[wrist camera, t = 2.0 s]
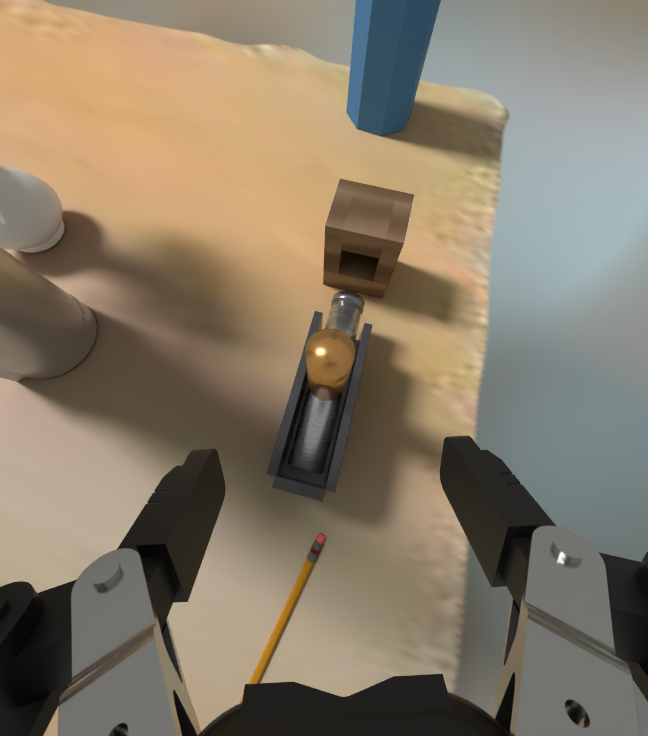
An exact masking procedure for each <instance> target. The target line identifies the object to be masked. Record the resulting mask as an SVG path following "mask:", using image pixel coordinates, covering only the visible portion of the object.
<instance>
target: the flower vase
mask: <svg viewBox="0 0 648 736" xmlns="http://www.w3.org/2000/svg"><path fill="white" fill-rule="evenodd" d="M62 217H63V210H62V204H61V200H60V198H59V197H58V195H57V194H56V192H55V191H54V189H53V188H52V187H50V186H49V185H48V184H47V183H45V182H44V181H43V180H41V179H40V178H39V177H37V176H35V175H33V174H31V173H28V172H26V171H23V170H21V169H18V168H14V167H8V166H4V165H0V247H1V248H2V249H8V250H19V251H21V252H27V253H37V252H41V251H45V250H47V249H49V248H51V247H52V246H54V245H55V244H57V243H58V241H59V240H60V239H61V238H62V236H63V234H64V230H65V226H64V222H63V220H62Z"/></svg>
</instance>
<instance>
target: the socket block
mask: <svg viewBox="0 0 648 736" xmlns="http://www.w3.org/2000/svg"><path fill="white" fill-rule="evenodd" d="M413 198H414V195H413V194H409V193H404V192H399V191H395V190H390V189H385V188H381V187H376V186H371V185H367V184H362V183H357V182H353V181H348V180H343V179H340V181H339V184H338V187H337V190H336V193H335V196H334V200H333V203H332V206H331V209H330V212H329V216H328V219H327V222H326V225H325V248H324V277H323V284H325V285H329V286H333V287H338V288H342V289H346V290H350V291H355V292H359V293H363V294H367V295H372V296H376V297H380V298H383V295H384V293H385V290H386V288H387V285H388V282H389V280H390V277H391V275H392V272H393V270H394V267H395V265H396V262H397V260H398V257H399V254H400V252H401V249H402V247H403V244H404V240H405V236H406V231H407V226H408V221H409V217H410V212H411V207H412V202H413Z"/></svg>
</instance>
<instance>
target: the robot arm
mask: <svg viewBox="0 0 648 736" xmlns="http://www.w3.org/2000/svg"><path fill="white" fill-rule="evenodd" d="M96 334H97V324H96V320H95V317H94V315H93V313H92V312H91V310H90V309H89V308H88V307H87V306H85V305H84V304H82V303H81V302H79V301H78V300H77V299H76V298H74V297H73V296H72V295H70V294H68V293H66V292H65V291H63V290H62V289H61V288H59V287H58V286H56V285H55V284H53V283H52V282H51V281H49V280H48V279H46V278H45V277H43V276H42V275H40V274H39V273H37V272H36V271H34V270H33V269H32V268H30V267H29V266H27V265H26V264H24V263H23V262H21V261H20V260H18V259H17V258H15V257H14V256H13V255H11V254H10V253H8V252H7V251H5V250H4V249H2V248H1V247H0V377H1V378H5V379H9V380H12V381H19V380H21V379H24V378H37V379H43V378H51V377H55V376H58V375H61V374H63V373H65V372H67V371H69V370H71V369H72V368H74V367H75V366H77V365H78V364H79V363H80V362H81V361H82V360H83V359H84V358H85V357H86V356H87V354H88V353H89V352H90V350H91V348H92V346H93V344H94V342H95V339H96ZM440 480H441V484H442V487H443V490H444V492H445V494H446V496H447V498H448V500H449V502H450V504H451V506H452V508H453V510H454V512H455V514H456V516H457V518H458V520H459V522H460V524H461V526H462V528H463V530H464V532H465V534H466V536H467V538H468V540H469V542H470V544H471V546H472V548H473V550H474V552H475V554H476V556H477V558H478V560H479V562H480V564H481V566H482V568H483V570H484V573H485V575H486V577H487V579H488V580H489V583H490V585H491V587H500V586H507V588H508V590H509V591H510V593H511V595H512V599H511V603H510V609H509V616H508V622H507V629H506V635H505V643H504V649H503V655H502V663H501V668H500V675H499V680H498V684H497V688H496V693H495V697H494V701H493V706H492V712H491V716H490V715H489V714H488V713H486V712H485V711H484V710H482V709H481V708H479V707H478V706H476V705H475V704H473V703H471V702H470V701H468V700H466V699H464V698H462V697H460V696H457V695H455V694H452V693H449V692H447V688H446V685H445V681H444V678H443V674H432V675H413V676H394V677H392V678H389V679H387V680H385V681H383V682H380V683H378V684H376V685H373V686H371V687H369V688H367V689H364V690H362V691H360V692H357V693H355V694H353V695H351V696H348V697H340V696H337V695H334V694H330V693H327V692H324V691H321V690H318V689H315V688H311V687H308V686H305V685H302V684H299V683H296V682H280V683H262V684H245V688H244V694H243V700H242V703H240V704H238V705H236V706H234V707H232V708H231V709H229V710H227V711H226V712H224V713H222V714H221V715H220V716H219V717H217V718H216V719H215V720H213V721H212V722H211V723H210V724H209V725H208V726H207V727H206V728H205V729H204V730H203V731H202V732H201V730H200V726H199V723H198V720H197V717H196V714H195V711H194V708H193V705H192V702H191V700H190V697H189V694H188V690H187V687H186V683H185V680H184V676H183V672H182V669H181V665H180V661H179V658H178V654H177V650H176V647H175V643H174V639H173V636H172V632H171V628H170V625H169V621H168V619H167V616H168V614H169V611H170V609H171V606H172V604H173V602H188V599H189V597H190V594H191V591H192V588H193V585H194V582H195V580H196V577H197V574H198V571H199V568H200V566H201V563H202V560H203V557H204V554H205V551H206V549H207V546H208V543H209V540H210V537H211V535H212V532H213V529H214V526H215V523H216V520H217V518H218V515H219V512H220V509H221V506H222V504H223V501H224V496H225V481H224V477H223V472H222V468H221V464H220V460H219V456H218V452H217V450H216V449H201V450H192V451H191V452H190V454H189V456H188V457H187V459H186V461H185V462H184V464H183V466H176V467H175V468H173V469H172V470H171V471H170V472H169V473H168V474H166V475H165V476H164V477H163V478H162V480H161V482H160V483H159V485H158V486H157V488H156V489H155V493H153V494H152V496H151V497H150V499H149V500H148V504H146V505H145V507H144V508H143V510H142V511H141V513H140V514H139V516H138V517H137V519H136V521H135V522H134V524H133V525H132V527H131V528H130V530H129V532H128V533H127V535H126V536H125V538H124V539H123V541H122V543H121V544H120V546H119V547H118V549H117V550H114V551H111V552H109V553H107V554H105V555H103V556H101V557H100V558H98V559H97V560H95V561H94V562H93V563H92V564H90V565H89V566H88V567H87V568H86V569H85V570H84V571H83V572H82V574H81V575H80V576H79V578H78V579H77V580H74V581H72V582H69V583H66V584H63V585H60V586H57V587H54V588H51V589H48V590H45V591H42V592H40V593H37V592H36V591H35V590H34V588H33V587H32V585H31V584H29V583H28V582H14V583H10V584H7V585H4V586H2V587H0V736H43V735H44V733H45V731H46V729H47V727H48V725H49V723H50V721H51V719H52V717H53V715H54V713H55V711H56V709H57V707H58V705H59V709H58V736H640V729H639V722H638V715H637V708H636V701H635V694H634V687H633V680H634V681H635V683H636V684H637V686H638V687H639V689H640V690H641V692H642V693H643V695H644V696H645V698H646V699H647V701H648V552H647V553H646V555H645V557H644V558H643V560H642V562H638V561H633V560H629V559H624V558H620V557H616V556H611V555H607V554H603V553H599V552H597V550H596V549H595V548H594V547H593V546H592V545H591V544H590V543H589V542H587V541H586V540H585V539H583V538H582V537H580V536H579V535H577V534H575V533H573V532H571V531H569V530H567V529H563V528H561V527H557V526H556V525H555V524H554V523H553V522H552V520H551V519H550V518H549V517H548V515H547V514H546V513H545V512H544V511H543V509H542V508H541V507H540V506H539V505H538V503H537V502H536V501H535V500H534V498H533V497H532V496H531V495H530V494H529V493H528V491H527V490H526V489H525V488H524V486H523V485H521V484H520V481H519V480H518V479H517V478H516V477H515V475H512V472H511V471H510V469H509V468H508V467H507V466H506V464H505V463H504V462H503V461H502V460H501V459H500V458H498V457H497V456H495V455H494V454H492V453H491V452H490V451H488V450H480V448H479V447H478V446H477V444H476V443H475V442H474V441H473V439H472V438H471V437H470V436H453V437H446V438H445V439H444V444H443V451H442V459H441V467H440ZM632 678H633V680H632ZM70 684H71V685H70Z"/></svg>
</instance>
